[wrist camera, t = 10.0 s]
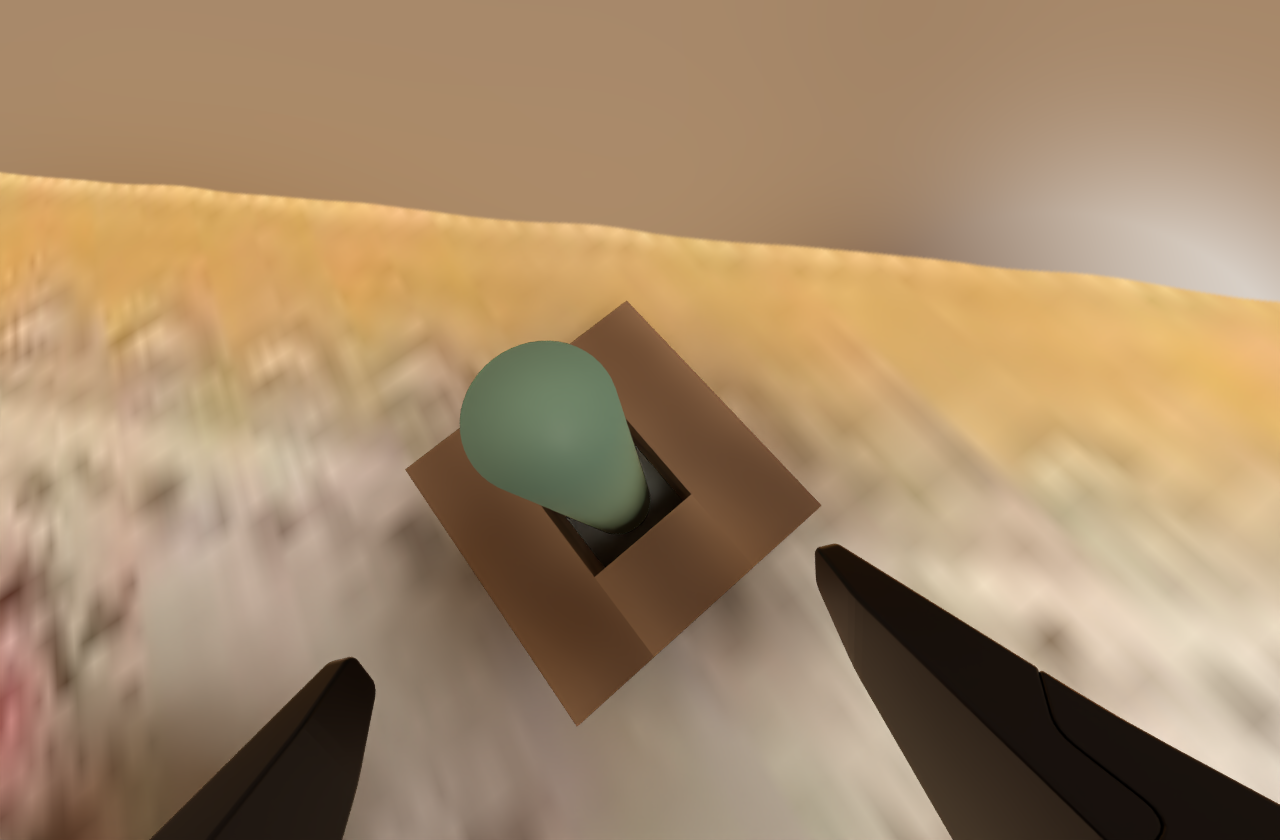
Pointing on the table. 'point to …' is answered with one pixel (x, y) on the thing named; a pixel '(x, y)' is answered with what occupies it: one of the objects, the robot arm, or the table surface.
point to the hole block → (656, 563)
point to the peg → (555, 435)
